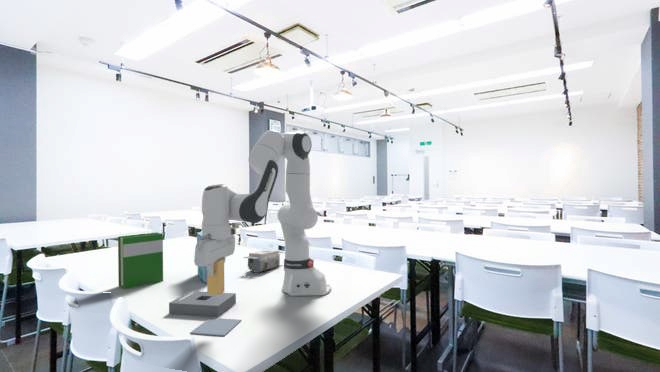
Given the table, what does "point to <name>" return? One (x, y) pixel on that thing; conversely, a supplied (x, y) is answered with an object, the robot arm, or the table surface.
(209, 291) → the plug
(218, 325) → the mat
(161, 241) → the hardback book
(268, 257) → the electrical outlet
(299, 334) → the table surface
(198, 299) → the grey block with hole
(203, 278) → the gum box
